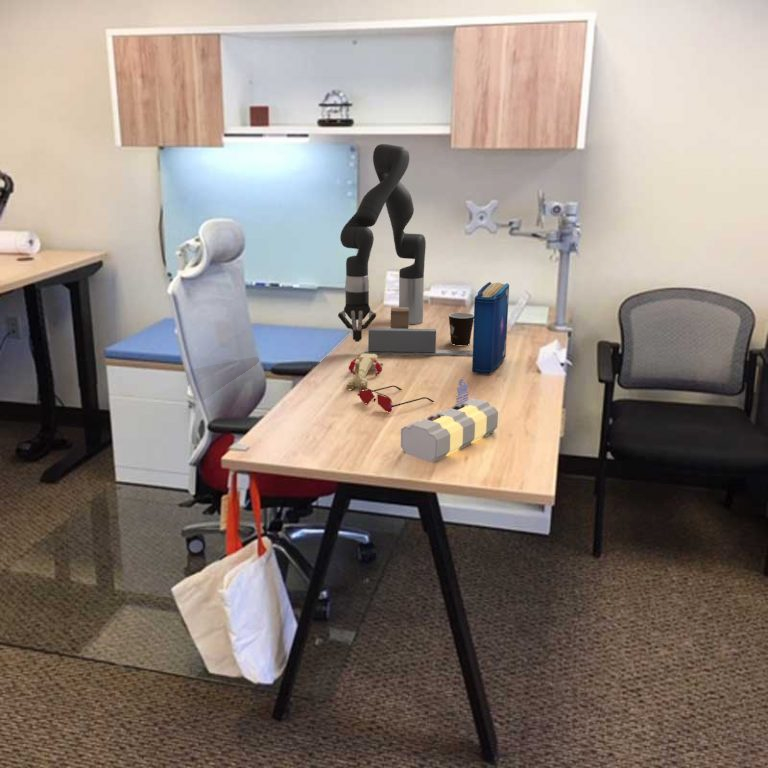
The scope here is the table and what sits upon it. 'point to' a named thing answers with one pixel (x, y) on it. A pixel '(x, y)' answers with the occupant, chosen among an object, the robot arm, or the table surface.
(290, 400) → the table surface
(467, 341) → the coffee mug
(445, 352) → the rail
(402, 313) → the walnut block
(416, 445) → the grey yellow banded box
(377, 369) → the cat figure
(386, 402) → the glasses
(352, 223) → the robot arm
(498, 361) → the book
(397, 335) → the panel
